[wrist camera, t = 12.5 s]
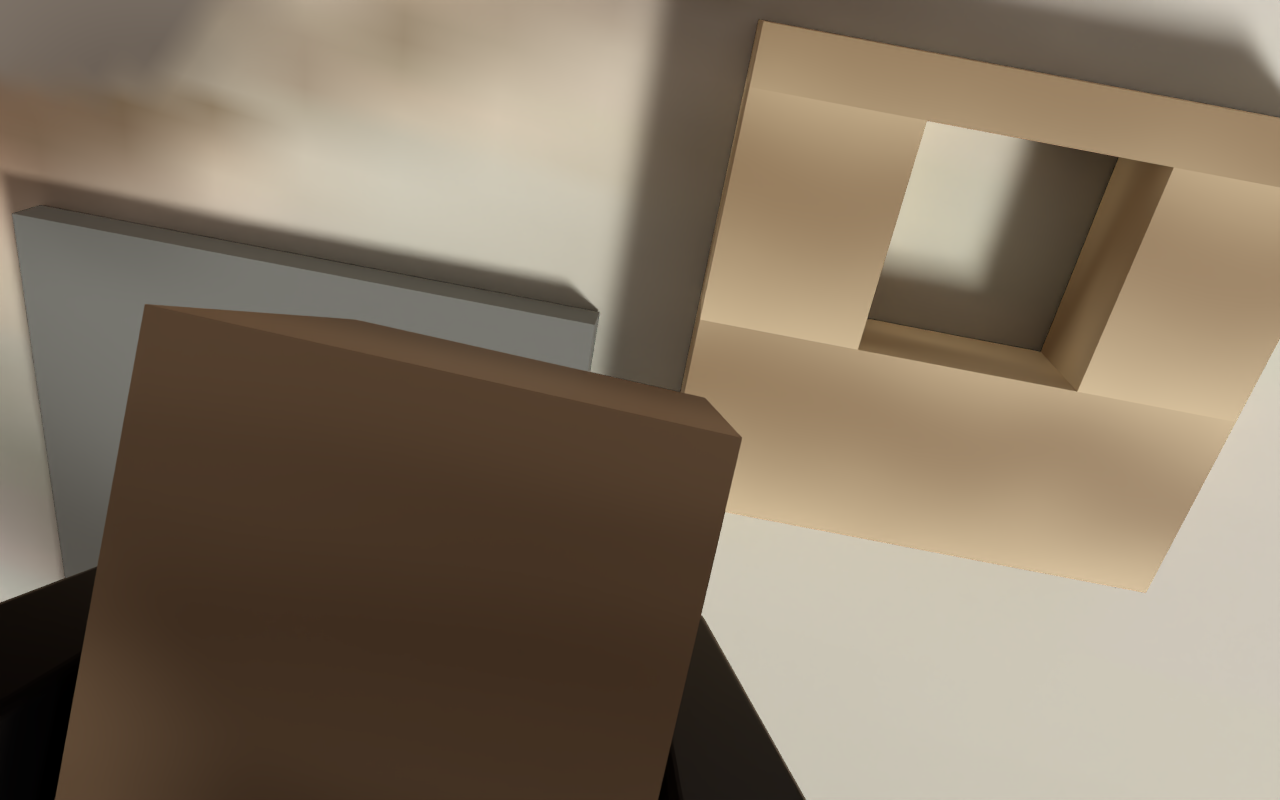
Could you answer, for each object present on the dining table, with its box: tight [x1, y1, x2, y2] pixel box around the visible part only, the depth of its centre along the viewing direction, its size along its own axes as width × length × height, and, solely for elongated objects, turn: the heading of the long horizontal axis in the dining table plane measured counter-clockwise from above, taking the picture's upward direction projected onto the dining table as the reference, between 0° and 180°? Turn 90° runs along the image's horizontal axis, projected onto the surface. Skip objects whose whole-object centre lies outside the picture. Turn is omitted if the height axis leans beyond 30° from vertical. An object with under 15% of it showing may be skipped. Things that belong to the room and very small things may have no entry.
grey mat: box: [12, 205, 600, 578], centre depth 20 cm, size 12×12×1 cm
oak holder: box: [680, 19, 1280, 593], centre depth 16 cm, size 9×10×2 cm
